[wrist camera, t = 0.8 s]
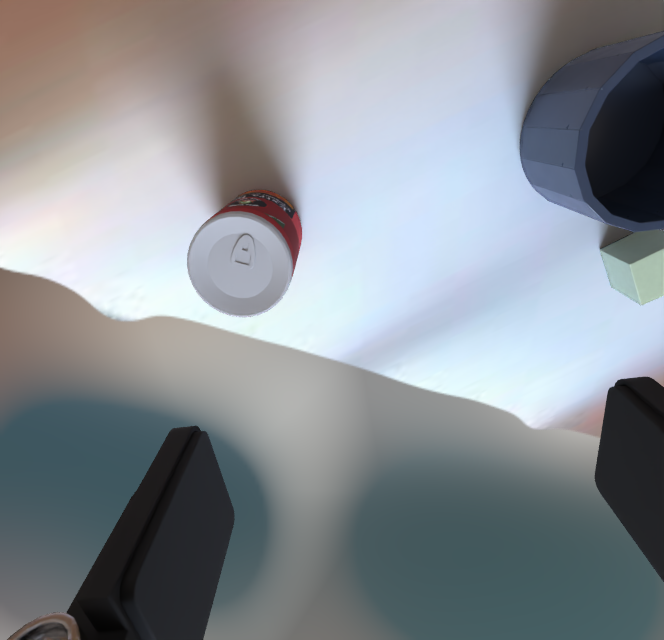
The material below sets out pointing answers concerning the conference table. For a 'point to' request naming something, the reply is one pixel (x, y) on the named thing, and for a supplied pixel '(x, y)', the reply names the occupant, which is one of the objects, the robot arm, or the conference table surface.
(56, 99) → the conference table surface
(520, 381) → the conference table surface
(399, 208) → the conference table surface
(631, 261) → the block
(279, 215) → the canned food
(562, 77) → the pot
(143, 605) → the robot arm
